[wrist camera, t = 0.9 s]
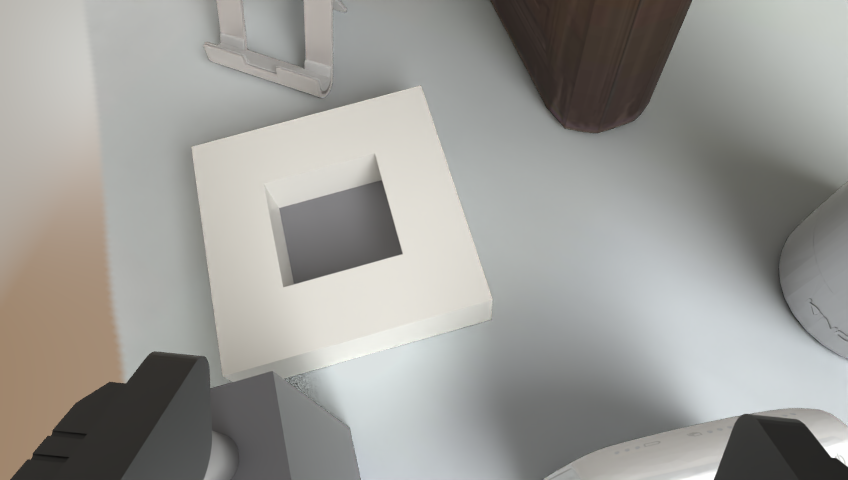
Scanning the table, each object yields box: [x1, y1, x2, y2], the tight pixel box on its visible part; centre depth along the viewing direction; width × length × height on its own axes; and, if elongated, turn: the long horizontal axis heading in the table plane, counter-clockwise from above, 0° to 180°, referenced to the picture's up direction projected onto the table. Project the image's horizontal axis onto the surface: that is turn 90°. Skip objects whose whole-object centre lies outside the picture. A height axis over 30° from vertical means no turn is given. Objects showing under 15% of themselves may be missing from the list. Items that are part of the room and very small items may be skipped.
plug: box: [204, 371, 361, 480], centre depth 25 cm, size 4×4×16 cm
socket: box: [191, 85, 493, 382], centre depth 36 cm, size 14×14×4 cm
